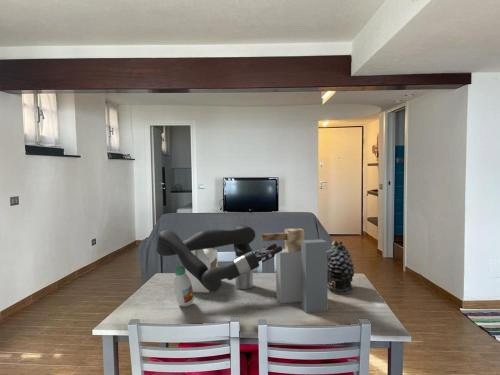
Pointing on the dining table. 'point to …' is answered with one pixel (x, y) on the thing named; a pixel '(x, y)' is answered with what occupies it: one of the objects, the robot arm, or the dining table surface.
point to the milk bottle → (183, 287)
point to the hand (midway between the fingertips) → (278, 246)
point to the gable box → (209, 260)
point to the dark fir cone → (339, 269)
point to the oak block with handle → (287, 238)
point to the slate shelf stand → (303, 276)
